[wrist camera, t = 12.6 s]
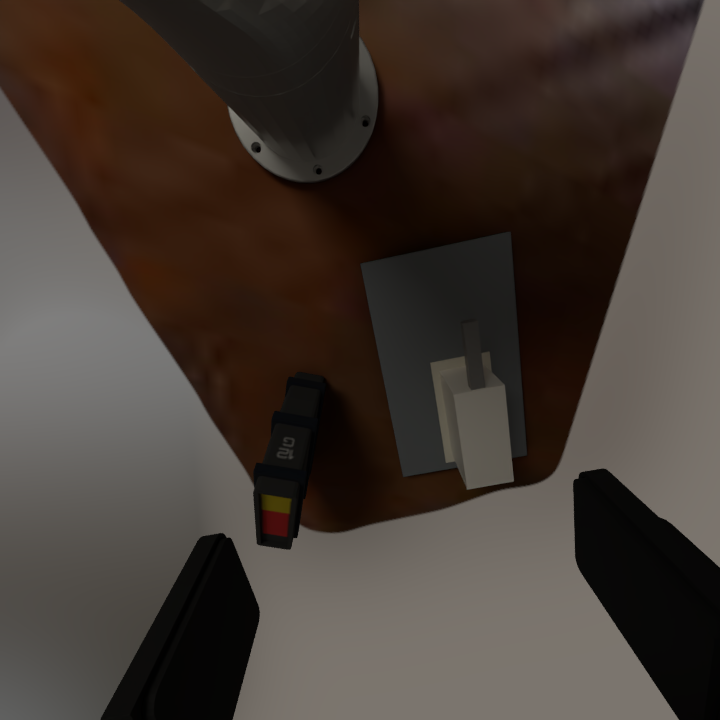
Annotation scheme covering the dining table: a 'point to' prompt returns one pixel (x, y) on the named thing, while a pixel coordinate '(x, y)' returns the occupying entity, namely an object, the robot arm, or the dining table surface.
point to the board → (443, 338)
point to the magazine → (288, 462)
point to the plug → (477, 416)
